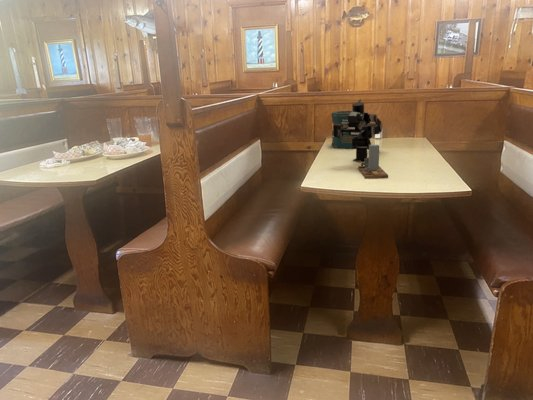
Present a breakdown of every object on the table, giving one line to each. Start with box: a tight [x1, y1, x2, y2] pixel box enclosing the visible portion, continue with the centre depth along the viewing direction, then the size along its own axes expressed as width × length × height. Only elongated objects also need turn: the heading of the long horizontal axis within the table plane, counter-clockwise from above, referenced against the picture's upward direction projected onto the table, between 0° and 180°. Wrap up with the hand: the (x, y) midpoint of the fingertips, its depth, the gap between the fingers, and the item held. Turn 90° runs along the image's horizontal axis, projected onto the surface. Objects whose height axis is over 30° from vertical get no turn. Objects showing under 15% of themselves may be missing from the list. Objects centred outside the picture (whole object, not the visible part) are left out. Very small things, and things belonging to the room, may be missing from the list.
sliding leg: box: [365, 144, 380, 171], centre depth 195 cm, size 3×6×12 cm, turn 88°
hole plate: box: [357, 157, 389, 179], centre depth 199 cm, size 20×10×5 cm, turn 178°
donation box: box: [331, 98, 362, 150], centre depth 264 cm, size 16×16×28 cm
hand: (347, 137), depth 202 cm, fingers open, 9 cm apart
